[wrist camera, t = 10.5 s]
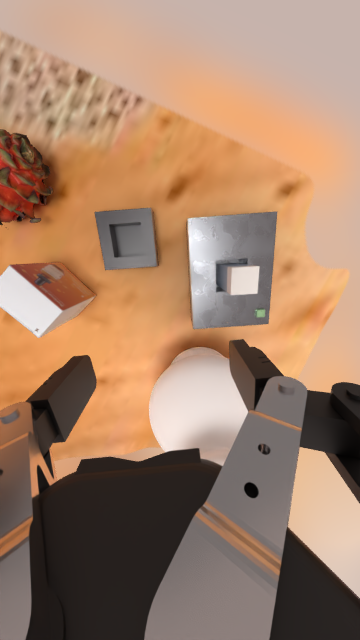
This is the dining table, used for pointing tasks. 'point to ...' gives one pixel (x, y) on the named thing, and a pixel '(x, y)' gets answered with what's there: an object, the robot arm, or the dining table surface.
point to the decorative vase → (197, 405)
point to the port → (229, 247)
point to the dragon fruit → (20, 178)
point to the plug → (237, 278)
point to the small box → (42, 295)
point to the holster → (127, 238)
